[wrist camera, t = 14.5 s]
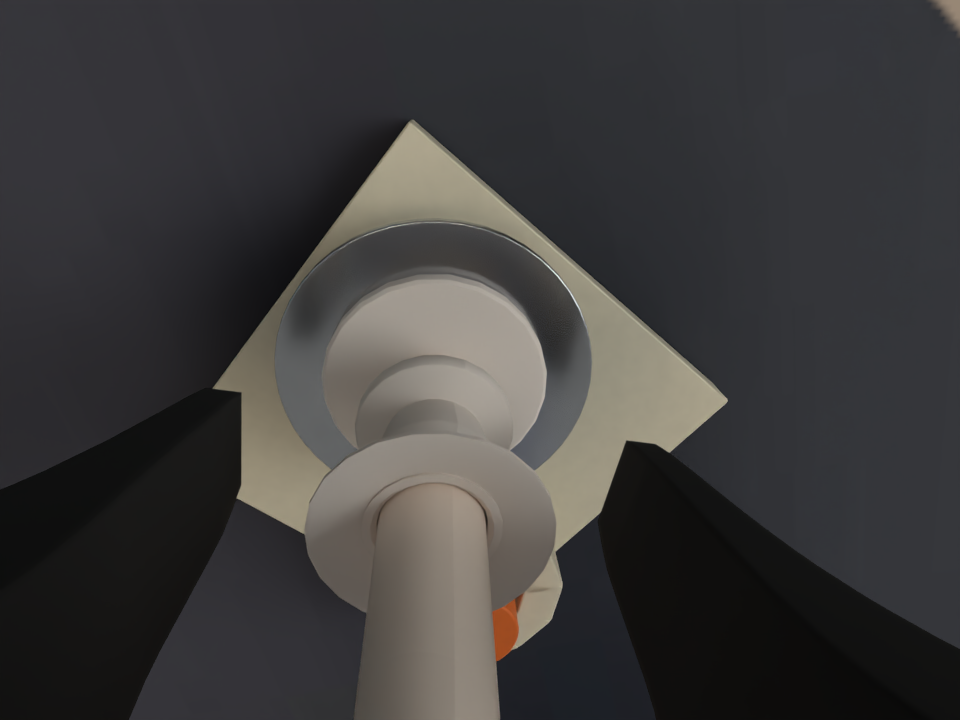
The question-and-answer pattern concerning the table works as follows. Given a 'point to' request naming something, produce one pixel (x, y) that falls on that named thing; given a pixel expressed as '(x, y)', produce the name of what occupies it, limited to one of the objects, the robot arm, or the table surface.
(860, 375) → the table surface
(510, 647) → the tare button
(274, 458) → the scale
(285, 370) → the weighing pan
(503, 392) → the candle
